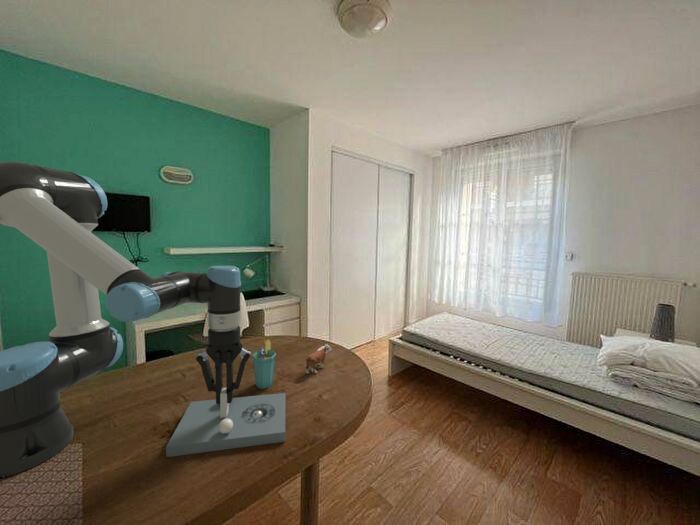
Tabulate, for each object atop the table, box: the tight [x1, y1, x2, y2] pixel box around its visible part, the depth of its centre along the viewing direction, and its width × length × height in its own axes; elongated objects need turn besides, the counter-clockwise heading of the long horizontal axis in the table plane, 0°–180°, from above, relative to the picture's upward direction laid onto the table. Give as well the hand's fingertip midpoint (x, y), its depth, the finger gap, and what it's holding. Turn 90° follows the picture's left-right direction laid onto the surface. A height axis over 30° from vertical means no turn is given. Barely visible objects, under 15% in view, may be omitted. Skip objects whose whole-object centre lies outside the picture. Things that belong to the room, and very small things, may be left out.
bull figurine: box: [305, 343, 333, 375], centre depth 105 cm, size 4×13×8 cm, turn 148°
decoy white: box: [219, 418, 233, 434], centre depth 67 cm, size 3×3×3 cm
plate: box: [165, 392, 286, 458], centre depth 73 cm, size 26×17×2 cm, turn 103°
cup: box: [251, 339, 277, 390], centre depth 91 cm, size 14×8×15 cm, turn 11°
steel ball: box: [251, 410, 264, 419], centre depth 74 cm, size 3×3×3 cm
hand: (224, 413), depth 73 cm, fingers closed
